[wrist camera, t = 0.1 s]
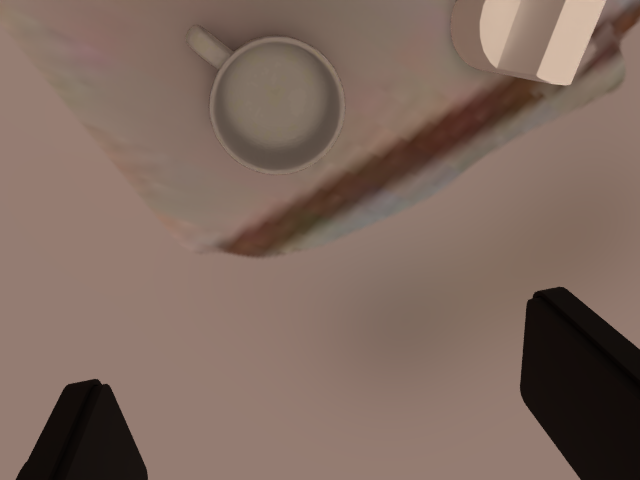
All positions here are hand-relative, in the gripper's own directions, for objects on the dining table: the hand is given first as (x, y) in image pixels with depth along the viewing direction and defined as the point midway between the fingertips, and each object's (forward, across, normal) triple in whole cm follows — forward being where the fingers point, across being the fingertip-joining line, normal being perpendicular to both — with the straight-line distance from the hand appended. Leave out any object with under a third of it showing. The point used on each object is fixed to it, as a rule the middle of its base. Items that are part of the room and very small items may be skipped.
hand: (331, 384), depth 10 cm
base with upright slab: (+38, -23, -5) cm, 44 cm away
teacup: (+38, 0, -2) cm, 38 cm away
